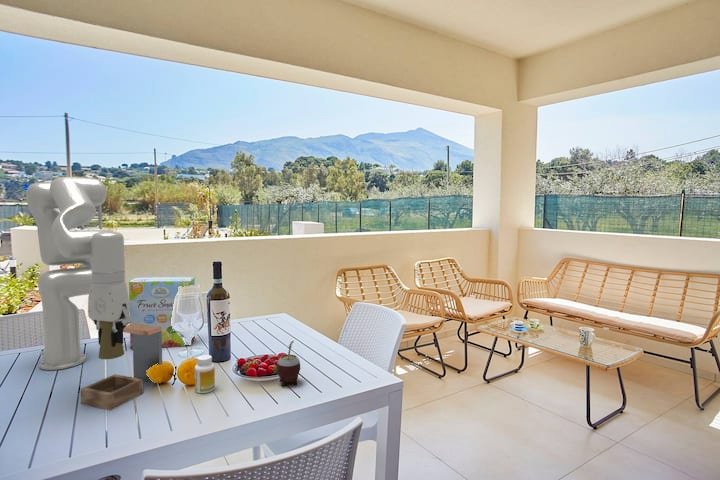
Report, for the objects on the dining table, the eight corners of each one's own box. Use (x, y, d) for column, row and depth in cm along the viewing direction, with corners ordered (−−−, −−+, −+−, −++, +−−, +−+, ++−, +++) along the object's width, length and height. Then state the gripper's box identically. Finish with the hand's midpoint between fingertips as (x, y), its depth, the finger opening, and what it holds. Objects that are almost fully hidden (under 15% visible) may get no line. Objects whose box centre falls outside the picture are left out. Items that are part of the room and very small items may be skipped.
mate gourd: (286, 376, 127) (286, 330, 126) (306, 381, 124) (307, 333, 122) (270, 385, 120) (270, 336, 119) (292, 391, 117) (292, 341, 116)
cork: (112, 360, 106) (110, 319, 105) (92, 358, 108) (91, 318, 107) (129, 352, 112) (128, 313, 111) (111, 350, 113) (109, 312, 113)
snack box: (129, 350, 147) (126, 281, 145) (136, 342, 156) (134, 277, 154) (192, 346, 152) (191, 279, 150) (196, 339, 161) (195, 275, 159)
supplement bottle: (218, 387, 119) (218, 355, 118) (206, 395, 114) (205, 361, 113) (203, 384, 121) (203, 352, 120) (190, 392, 115) (190, 359, 115)
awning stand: (122, 384, 120) (120, 327, 118) (137, 377, 124) (135, 323, 123) (149, 389, 117) (147, 331, 115) (162, 382, 121) (161, 326, 120)
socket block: (80, 403, 108) (80, 389, 107) (115, 387, 117) (114, 374, 117) (110, 410, 104) (109, 395, 104) (143, 393, 114) (142, 379, 114)
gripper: (72, 278, 107) (75, 345, 109) (120, 282, 102) (122, 352, 104) (98, 273, 114) (100, 336, 116) (144, 277, 109) (146, 343, 111)
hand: (111, 343), depth 110 cm, fingers closed on cork, 3 cm apart
